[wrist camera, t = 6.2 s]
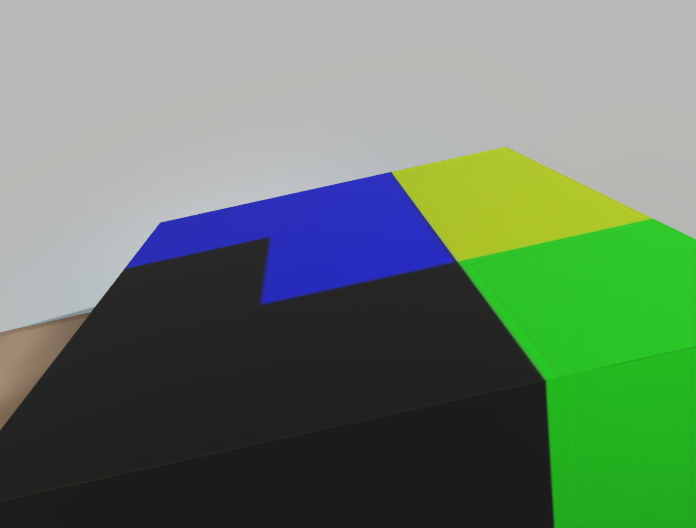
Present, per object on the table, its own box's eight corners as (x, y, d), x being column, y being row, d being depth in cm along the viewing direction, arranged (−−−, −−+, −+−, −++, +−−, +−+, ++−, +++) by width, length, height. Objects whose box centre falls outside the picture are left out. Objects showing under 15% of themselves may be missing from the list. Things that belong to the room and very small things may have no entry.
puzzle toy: (254, 482, 19) (160, 222, 15) (527, 421, 19) (505, 146, 15) (213, 904, 10) (-66, 515, 6) (748, 784, 10) (847, 313, 6)
